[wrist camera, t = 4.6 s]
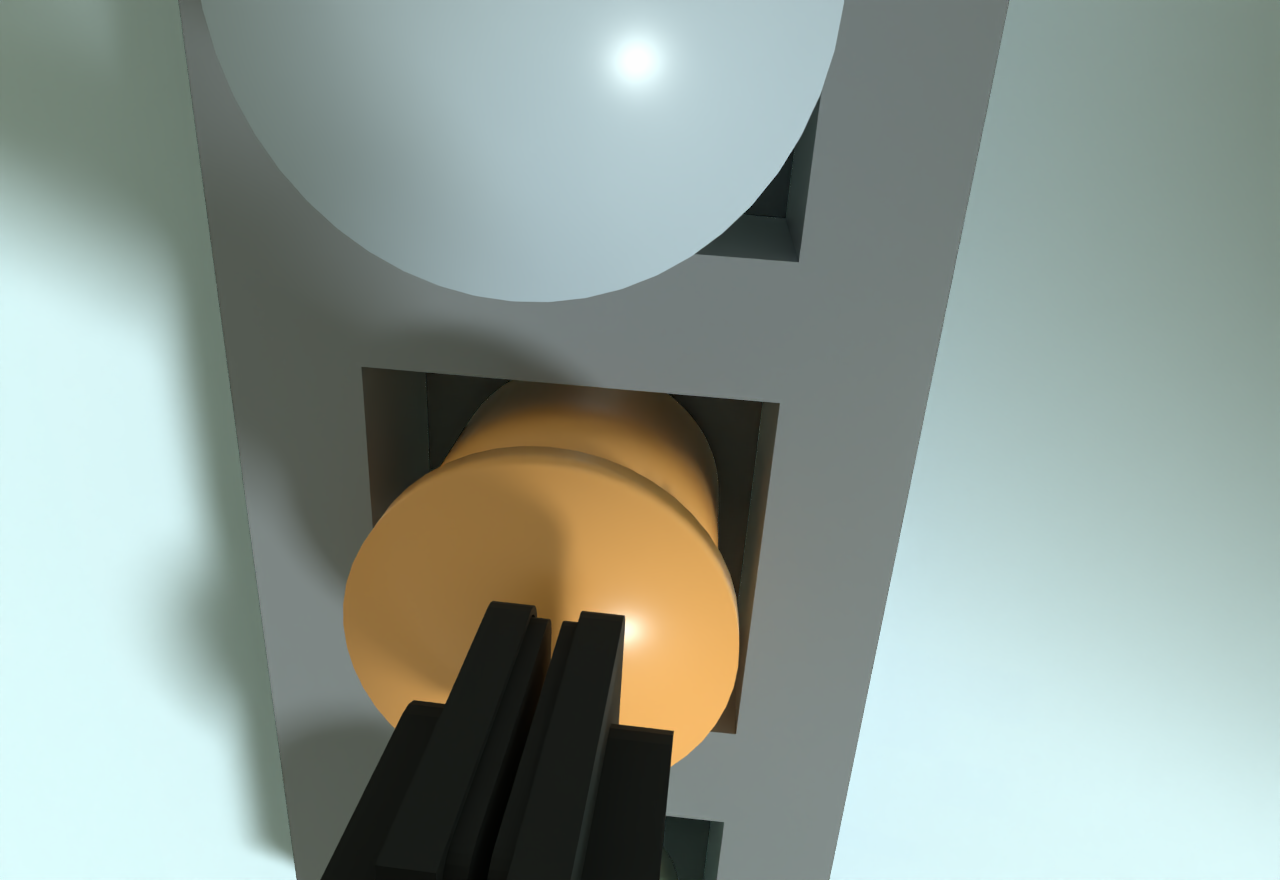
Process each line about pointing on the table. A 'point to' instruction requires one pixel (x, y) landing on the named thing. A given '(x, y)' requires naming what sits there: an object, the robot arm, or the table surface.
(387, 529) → the plunger orange
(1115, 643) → the table surface
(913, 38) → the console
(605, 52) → the plunger gray
